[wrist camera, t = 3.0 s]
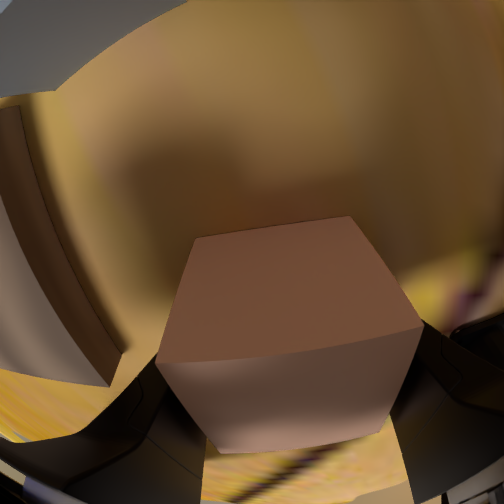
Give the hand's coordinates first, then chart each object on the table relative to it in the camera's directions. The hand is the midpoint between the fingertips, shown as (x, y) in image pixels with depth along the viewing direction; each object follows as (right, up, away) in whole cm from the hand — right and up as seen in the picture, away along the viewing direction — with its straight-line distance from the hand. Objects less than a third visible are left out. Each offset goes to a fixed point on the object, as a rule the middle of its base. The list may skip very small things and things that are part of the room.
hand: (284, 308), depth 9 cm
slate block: (-6, +10, -4) cm, 13 cm away
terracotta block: (0, +1, +1) cm, 1 cm away
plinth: (-14, +1, 0) cm, 14 cm away
